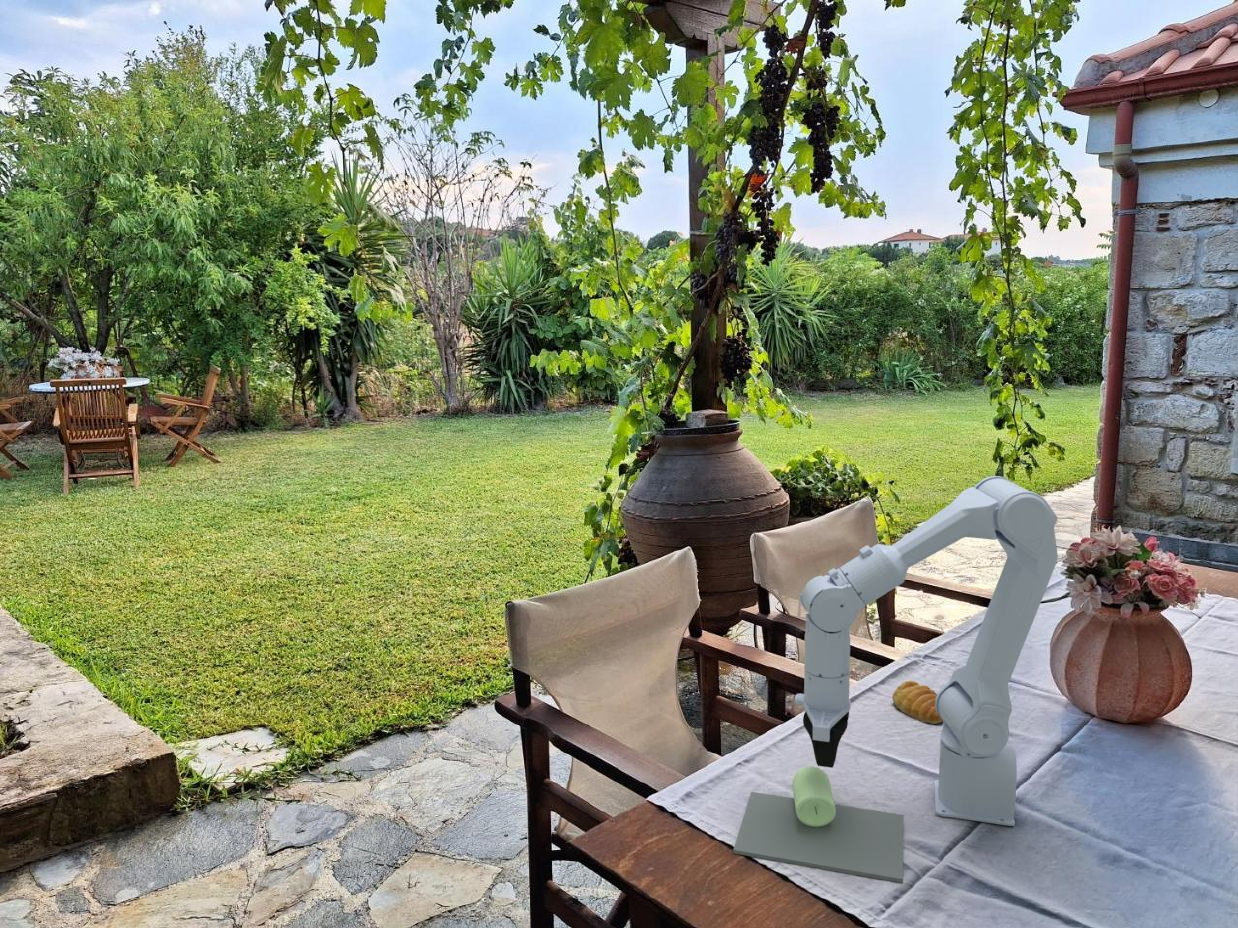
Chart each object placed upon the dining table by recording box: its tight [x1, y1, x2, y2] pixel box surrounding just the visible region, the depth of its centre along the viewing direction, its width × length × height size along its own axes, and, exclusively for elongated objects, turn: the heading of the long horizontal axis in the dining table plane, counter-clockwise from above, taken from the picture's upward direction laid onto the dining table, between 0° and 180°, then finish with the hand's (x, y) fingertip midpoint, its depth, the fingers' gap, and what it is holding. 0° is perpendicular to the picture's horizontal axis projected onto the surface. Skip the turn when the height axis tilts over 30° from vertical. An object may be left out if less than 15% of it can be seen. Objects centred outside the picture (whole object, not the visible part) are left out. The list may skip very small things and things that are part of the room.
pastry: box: [892, 680, 944, 725], centre depth 139 cm, size 9×7×4 cm
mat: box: [733, 791, 905, 884], centre depth 109 cm, size 20×13×1 cm, turn 72°
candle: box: [792, 765, 836, 827], centre depth 112 cm, size 5×5×8 cm
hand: (825, 763), depth 114 cm, fingers closed
